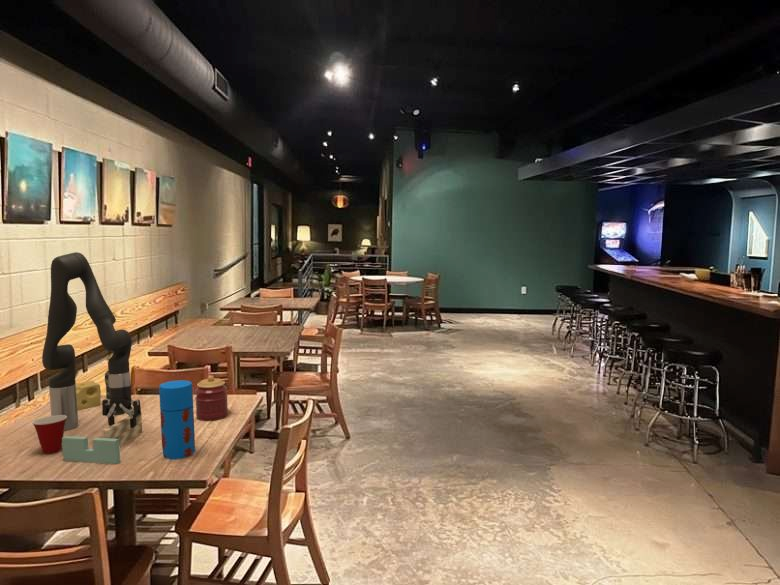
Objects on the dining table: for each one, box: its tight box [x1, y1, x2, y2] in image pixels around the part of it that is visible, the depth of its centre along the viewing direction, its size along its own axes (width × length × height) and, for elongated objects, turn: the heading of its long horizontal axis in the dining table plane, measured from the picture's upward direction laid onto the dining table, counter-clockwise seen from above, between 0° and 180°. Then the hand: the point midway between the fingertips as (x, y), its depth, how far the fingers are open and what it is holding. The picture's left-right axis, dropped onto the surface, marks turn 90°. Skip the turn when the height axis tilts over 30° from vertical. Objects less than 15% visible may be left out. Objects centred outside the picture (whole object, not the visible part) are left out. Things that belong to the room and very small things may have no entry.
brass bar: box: [102, 414, 143, 447], centre depth 211 cm, size 20×2×8 cm, turn 171°
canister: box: [194, 374, 229, 422], centre depth 240 cm, size 13×13×18 cm
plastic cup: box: [31, 415, 67, 455], centre depth 203 cm, size 11×11×12 cm
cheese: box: [76, 380, 102, 411], centre depth 256 cm, size 10×11×10 cm
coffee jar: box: [104, 370, 130, 416], centre depth 246 cm, size 10×8×19 cm
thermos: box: [158, 379, 196, 460], centre depth 199 cm, size 11×11×25 cm
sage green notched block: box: [62, 435, 121, 465], centre depth 194 cm, size 20×2×8 cm, turn 81°
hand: (122, 427), depth 211 cm, fingers open, 8 cm apart
